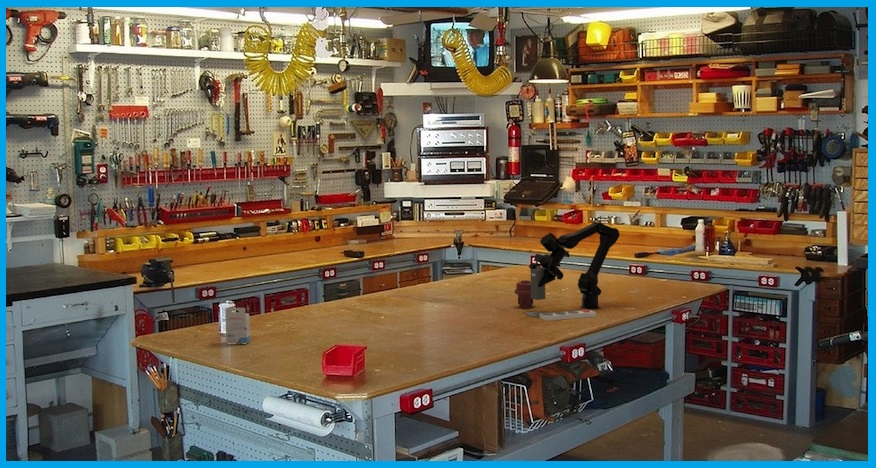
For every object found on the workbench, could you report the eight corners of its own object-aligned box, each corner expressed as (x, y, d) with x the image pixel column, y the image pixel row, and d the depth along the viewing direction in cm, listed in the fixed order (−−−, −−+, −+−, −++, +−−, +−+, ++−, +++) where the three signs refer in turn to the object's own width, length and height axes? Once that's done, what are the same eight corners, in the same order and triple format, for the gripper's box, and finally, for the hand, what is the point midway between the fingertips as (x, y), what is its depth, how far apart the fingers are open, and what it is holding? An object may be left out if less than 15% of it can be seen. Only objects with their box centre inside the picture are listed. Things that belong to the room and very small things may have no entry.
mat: (541, 312, 461) (541, 311, 461) (548, 315, 453) (548, 314, 453) (525, 313, 459) (525, 312, 459) (531, 316, 451) (531, 316, 451)
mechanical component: (537, 305, 478) (535, 309, 468) (516, 305, 480) (513, 309, 470) (537, 279, 476) (535, 282, 466) (516, 278, 478) (513, 282, 468)
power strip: (589, 314, 455) (589, 308, 455) (595, 316, 449) (596, 310, 449) (539, 318, 448) (539, 311, 448) (545, 320, 442) (545, 314, 442)
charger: (539, 297, 457) (538, 268, 455) (545, 298, 453) (544, 269, 452) (530, 298, 455) (530, 269, 453) (536, 300, 451) (536, 270, 449)
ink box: (250, 342, 409) (249, 305, 407) (247, 344, 404) (245, 307, 402) (230, 341, 410) (228, 305, 408) (226, 344, 405) (224, 307, 403)
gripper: (531, 245, 461) (512, 271, 457) (557, 249, 445) (537, 277, 441) (546, 260, 466) (526, 287, 462) (572, 265, 450) (552, 293, 446)
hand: (535, 285), depth 453 cm, fingers closed on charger, 4 cm apart
